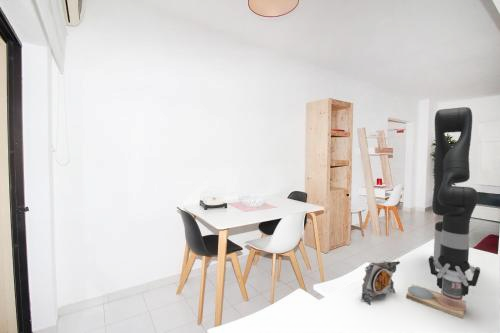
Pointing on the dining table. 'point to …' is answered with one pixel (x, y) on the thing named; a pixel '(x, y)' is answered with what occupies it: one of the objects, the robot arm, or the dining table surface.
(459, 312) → the board
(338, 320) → the dining table surface
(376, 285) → the meal
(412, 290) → the grey pad
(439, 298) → the terracotta pad
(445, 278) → the pill bottle
